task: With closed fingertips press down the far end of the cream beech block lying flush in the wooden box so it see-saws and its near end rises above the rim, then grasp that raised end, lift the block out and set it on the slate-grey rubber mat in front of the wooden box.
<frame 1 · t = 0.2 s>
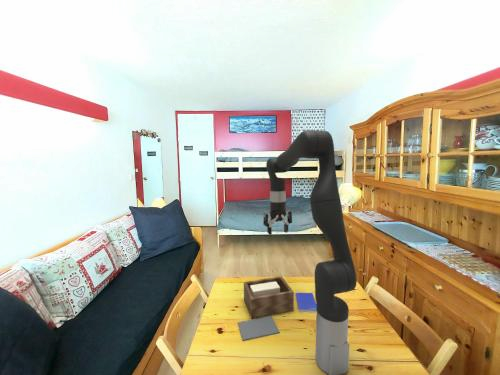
hand: (277, 233, 111), 28 cm above the table, fingers open, 8 cm apart
wooden box: (266, 305, 101), on the table
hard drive: (306, 304, 102), on the table
mat: (258, 328, 87), on the table
block: (265, 297, 100), point 4 cm above the table, touching wooden box
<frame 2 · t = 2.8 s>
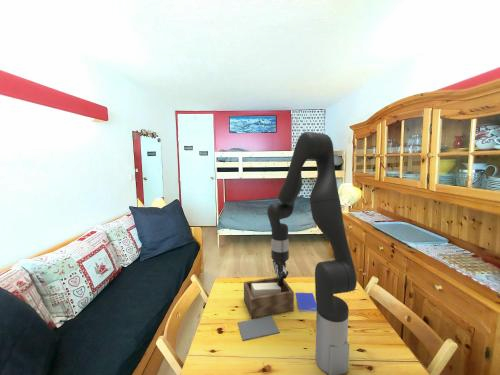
hand: (280, 285, 101), 8 cm above the table, fingers closed
block: (265, 296, 100), point 4 cm above the table, tilted 7°, touching wooden box, gripper
everything else where it was.
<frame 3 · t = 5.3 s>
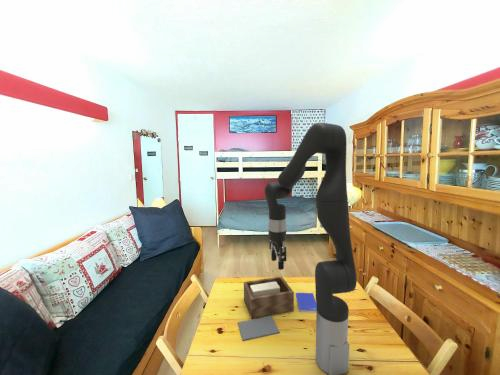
hand: (277, 264, 100), 18 cm above the table, fingers open, 8 cm apart
block: (265, 297, 100), point 4 cm above the table, touching wooden box
everything else where it was.
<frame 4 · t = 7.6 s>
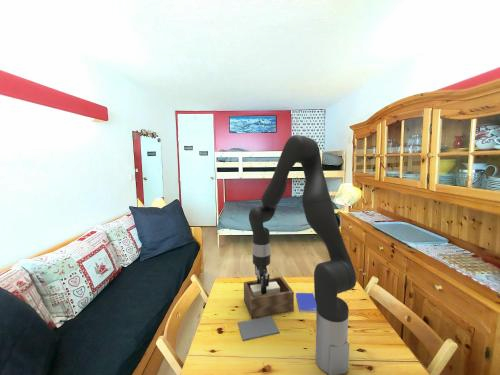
hand: (261, 289, 99), 8 cm above the table, fingers closed on block, 5 cm apart
block: (265, 297, 100), point 4 cm above the table, touching wooden box, gripper
everything else where it was.
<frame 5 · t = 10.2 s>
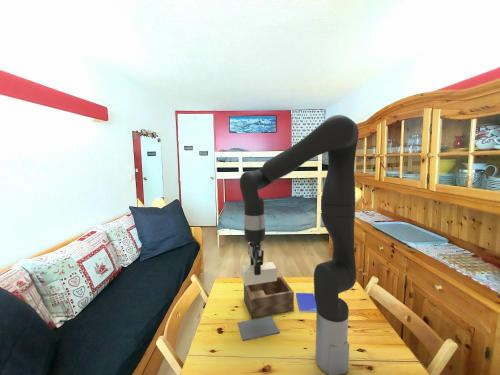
hand: (255, 270, 84), 23 cm above the table, fingers closed on block, 5 cm apart
block: (259, 279, 85), point 19 cm above the table, touching gripper
everything else where it was.
when the fingers open (9 cm above the table, at t = 12.9 s): block drops 5 cm, resting on mat.
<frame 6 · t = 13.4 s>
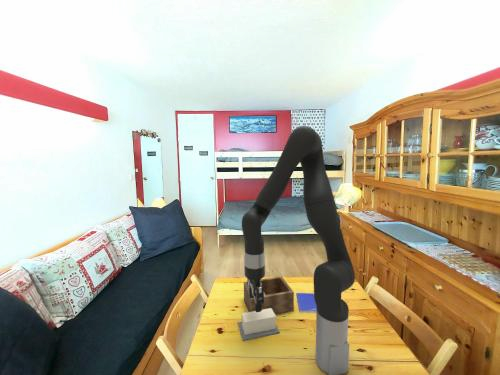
hand: (255, 304, 86), 10 cm above the table, fingers open, 8 cm apart
block: (258, 326, 87), resting on mat
everything else where it was.
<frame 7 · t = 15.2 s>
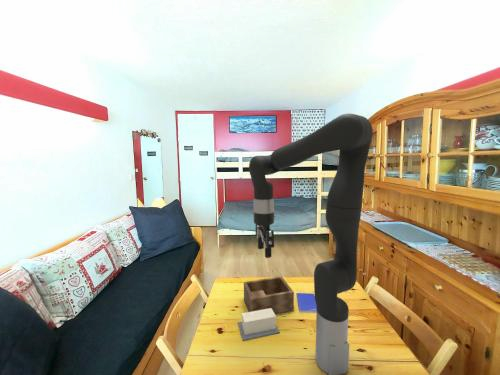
hand: (264, 252, 86), 29 cm above the table, fingers open, 8 cm apart
nothing on the table moved.
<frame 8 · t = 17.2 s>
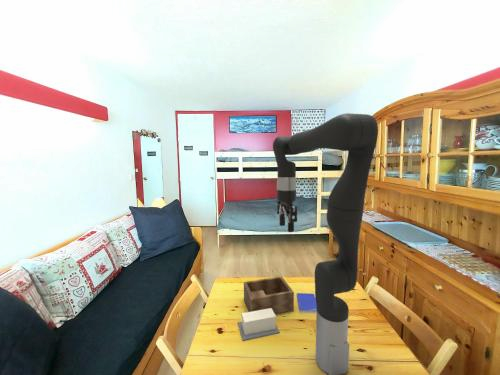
hand: (286, 228, 92), 36 cm above the table, fingers open, 8 cm apart
nothing on the table moved.
at the end: block inside the target area on the mat (0.3 cm from its centre), point 0.5 cm above the mat's base; block touching mat; the gripper is holding nothing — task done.
